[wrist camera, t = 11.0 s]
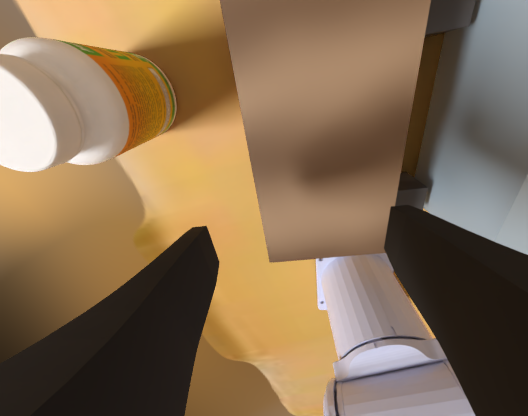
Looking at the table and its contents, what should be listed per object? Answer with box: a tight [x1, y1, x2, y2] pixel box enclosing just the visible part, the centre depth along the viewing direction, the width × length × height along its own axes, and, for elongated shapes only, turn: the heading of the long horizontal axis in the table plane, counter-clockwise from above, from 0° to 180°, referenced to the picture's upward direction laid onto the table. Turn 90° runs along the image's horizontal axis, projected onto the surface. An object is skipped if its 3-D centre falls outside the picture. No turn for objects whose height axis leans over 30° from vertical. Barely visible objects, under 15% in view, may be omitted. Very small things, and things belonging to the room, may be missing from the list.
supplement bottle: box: [0, 37, 177, 172], centre depth 12 cm, size 5×5×10 cm
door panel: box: [414, 0, 528, 255], centre depth 12 cm, size 14×4×8 cm, turn 9°
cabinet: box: [220, 0, 476, 262], centre depth 13 cm, size 15×17×6 cm
